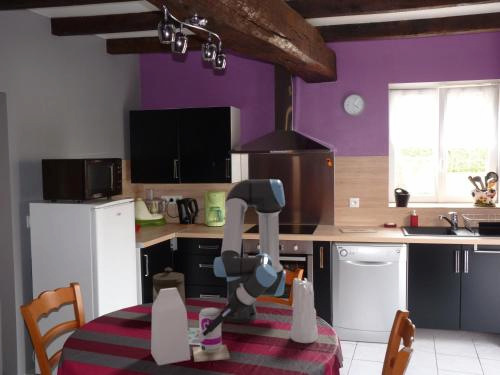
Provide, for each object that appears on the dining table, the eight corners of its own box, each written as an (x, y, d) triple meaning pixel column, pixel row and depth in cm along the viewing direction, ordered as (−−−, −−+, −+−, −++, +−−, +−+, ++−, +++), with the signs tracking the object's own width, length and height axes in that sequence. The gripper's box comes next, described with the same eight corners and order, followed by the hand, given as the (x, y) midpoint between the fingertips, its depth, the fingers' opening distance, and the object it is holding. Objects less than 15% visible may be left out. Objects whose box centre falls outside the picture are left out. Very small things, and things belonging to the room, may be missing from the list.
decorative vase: (320, 334, 217) (319, 275, 215) (314, 344, 207) (314, 282, 205) (294, 332, 220) (294, 273, 218) (288, 341, 210) (287, 280, 208)
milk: (158, 365, 189) (156, 294, 187) (151, 353, 200) (149, 287, 197) (190, 359, 194) (188, 290, 192) (181, 348, 204) (179, 283, 202)
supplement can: (218, 354, 194) (217, 314, 192) (197, 352, 195) (196, 313, 194) (224, 345, 202) (223, 307, 200) (203, 344, 203) (202, 306, 202)
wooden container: (159, 308, 256) (158, 263, 254) (188, 309, 254) (187, 264, 252) (149, 318, 241) (147, 271, 239) (180, 319, 239) (179, 271, 237)
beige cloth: (226, 346, 206) (226, 344, 205) (229, 359, 194) (229, 356, 194) (192, 349, 203) (192, 347, 203) (194, 361, 192) (194, 359, 192)
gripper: (246, 282, 202) (209, 318, 209) (224, 297, 183) (185, 337, 190) (259, 297, 201) (222, 333, 208) (239, 314, 181) (198, 353, 188)
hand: (204, 335), depth 199 cm, fingers closed on supplement can, 8 cm apart
